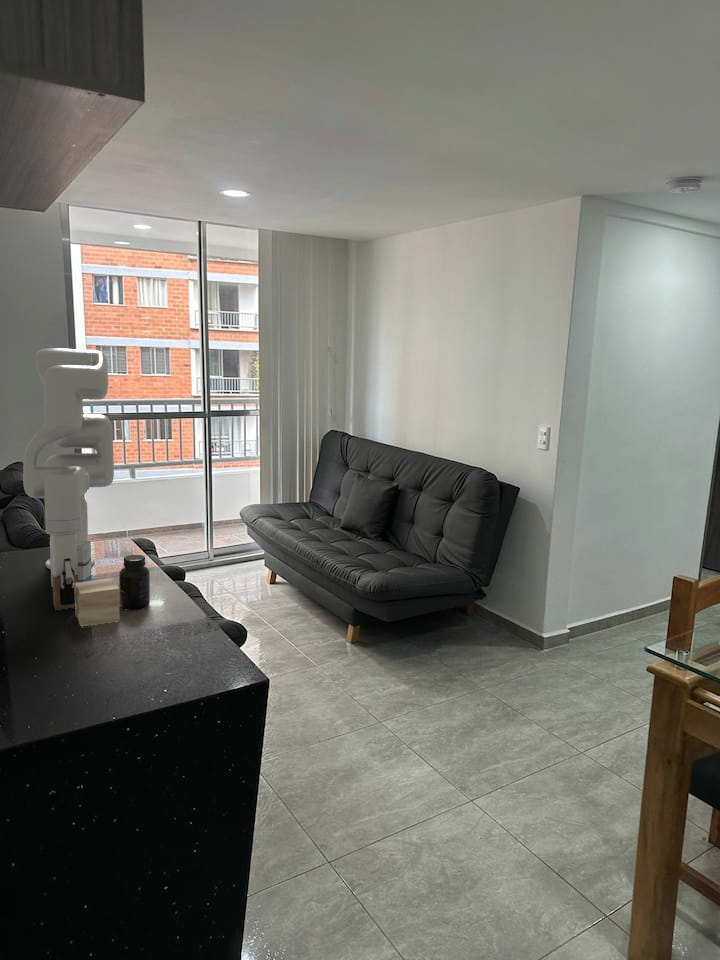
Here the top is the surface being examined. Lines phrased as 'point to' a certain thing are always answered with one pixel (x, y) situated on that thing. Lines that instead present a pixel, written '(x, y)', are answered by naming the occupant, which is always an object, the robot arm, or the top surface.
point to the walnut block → (57, 592)
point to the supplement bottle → (134, 583)
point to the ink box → (82, 561)
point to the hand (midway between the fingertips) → (65, 598)
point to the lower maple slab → (97, 615)
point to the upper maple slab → (96, 594)
